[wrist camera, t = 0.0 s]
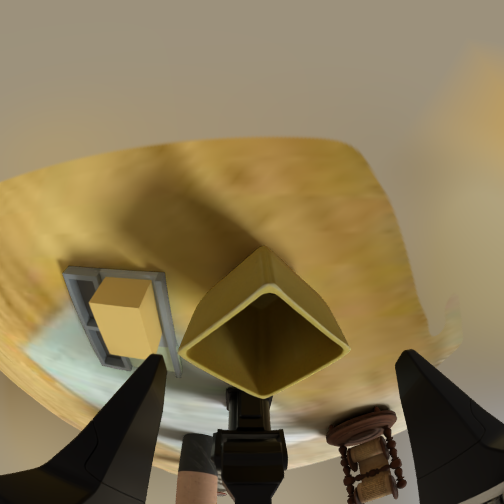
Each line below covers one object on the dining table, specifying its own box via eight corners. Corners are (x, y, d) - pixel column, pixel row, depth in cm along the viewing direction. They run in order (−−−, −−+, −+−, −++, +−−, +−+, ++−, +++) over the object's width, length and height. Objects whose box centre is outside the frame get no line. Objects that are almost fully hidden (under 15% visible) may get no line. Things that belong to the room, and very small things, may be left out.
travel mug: (201, 430, 42) (195, 523, 25) (226, 442, 46) (225, 526, 28) (174, 435, 44) (165, 519, 27) (199, 446, 48) (194, 523, 30)
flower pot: (192, 279, 25) (173, 355, 17) (261, 215, 22) (269, 282, 14) (258, 327, 28) (263, 400, 20) (325, 278, 25) (353, 350, 17)
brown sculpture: (339, 440, 49) (352, 513, 31) (312, 426, 43) (326, 518, 25) (398, 415, 45) (421, 489, 27) (385, 396, 38) (414, 491, 21)
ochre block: (162, 332, 27) (154, 360, 24) (121, 327, 27) (110, 353, 24) (151, 279, 24) (138, 308, 20) (105, 276, 24) (88, 302, 20)
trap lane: (182, 369, 32) (180, 377, 30) (105, 358, 31) (102, 365, 30) (164, 272, 24) (160, 281, 23) (68, 266, 24) (62, 273, 23)
